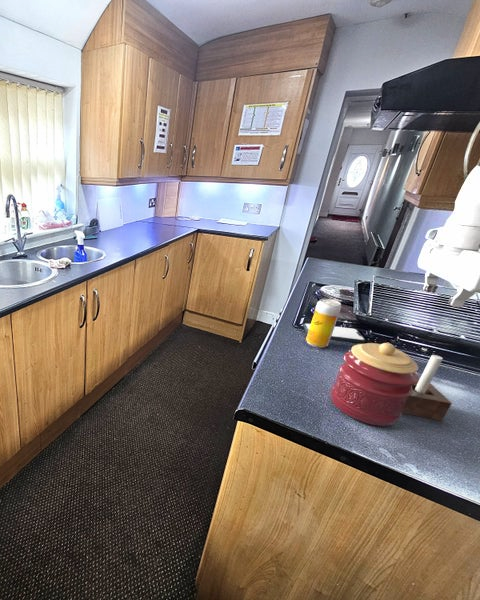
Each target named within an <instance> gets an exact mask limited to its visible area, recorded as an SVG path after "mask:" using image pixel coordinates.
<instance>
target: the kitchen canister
mask: <svg viewBox="0 0 480 600" xmlns="http://www.w3.org/2000/svg"><path fill="white" fill-rule="evenodd" d="M350 350H351V351H349V352H348V351H347V352H346V353H344V355H343V361H344V363H342V364H340V365H339V367H338V373H337V376H336V378H335V380H334V383H333V385H332V386H331V388H330V394H329V395H330V396H329V397H330V401H331V402H332V403H333V405H334V406H335V407H336V408H337V409H338V410H339V411H341V412H342V413H344V414H345V415H346V416H349V417H350V418H353V419H355V420H357V421H359V422H363V423H364V424H365V423H366V424H367V425H374V426H380V427H388V426H392V425H395V423H396V422H397V421H398V420H400V419H401V416H402V415H403V413H402V410H403V408H404V406H405V404H406V402H407V400H408V398H409V396H410V395H411V394H412V392H413V389H412V385H413V384H416V383H417V382H418V381H419V377H420V375H419V374H418V372H417V371H418V370H419V366H418V363H417V362H416V360H414V359H412V358H411V357H410V356H409V355H408V354H407V353H405V352H404V351H402V350H400V349H397V348H396V347H395V345H393V344H392V343H390V342H383V343H373V342H367V343H357V344H355V345H353V346H352V347H351V349H350Z"/></svg>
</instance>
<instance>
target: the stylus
mask: <svg viewBox="0 0 480 600" xmlns="http://www.w3.org/2000/svg"><path fill="white" fill-rule="evenodd" d="M443 359H444V358H443V357H442V356H440V355H437V354H431V356H430V358H429V360H428V362H427V364H426V366H425V368H424V370H423V372H422V374H421V375H420V380H419V382H418V384H417V386H416V388H415V390H414V391H415V392H416V393H421V394H425V392H426V390H427V389H428V387H429V385H430V384H432V381H433V379H434V378H435V375H436V373H437V372H438V369H439V367H440V365H441V363H442V362H443Z"/></svg>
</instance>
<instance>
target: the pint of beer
mask: <svg viewBox="0 0 480 600" xmlns="http://www.w3.org/2000/svg"><path fill="white" fill-rule="evenodd" d="M341 310H342V303H341V302H339V301H338V300H335V299H331V298H320V299H319V301H317V302H316V306H315V309H314V313H313V316H312V319H311V322H310V324H311V325H310V328H309V331H308V334H307V333H306V334H307V335H306V338H305V341H306V343H307V344H308V345H310V346H312V347H315V348H320V349H321V348H322V349H323V348H326V347H329V344H330V341H331V340H332V339H331V336H332V333H333V330H334V327H336V323H337V321H338V319H339V316H340V313H341Z"/></svg>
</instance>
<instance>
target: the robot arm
mask: <svg viewBox="0 0 480 600" xmlns="http://www.w3.org/2000/svg"><path fill="white" fill-rule="evenodd" d="M453 208H454V209H453V211H452V213H451V215H450V216H449V217H448V218H447V219H446V221H445V223H444V225H443V226H440V227H436V228H432V229H428V231H427V233H426V235H425V239H427V240H426V241H425V242H424V244H423V246H422V248H421V251H420V253H419V256H418V258H417V267H418V268H419V269H421V270H423V271H425V274H424V285H423V288H422V291H425V292H426V293H432V294H435V293H436V292H437V289H438V287H439V286H438V285H437V283H438V279H439V278H440V279H441V280H444V281H446V282H448V283H451V284H453V285H454V286H457V290H456V291H457V293H455V295H454V296H450V297H449V299H448V301H447V304H448V305H449V306H451V307H453V308H463V306H464V305H465V303H466V301H467V300H468V299H470V298H471V297H473V296H474V295H475V293H477V294H480V162H479V163H478V164H476V166H474V167H473V169H472V170H471V171H470V172H469V173H468V175H467V177H466V179H465V180H464V183H463V184H462V186H461V188H460V190H459V192H458V193H457V196H456V198H455V201H454V207H453Z"/></svg>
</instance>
